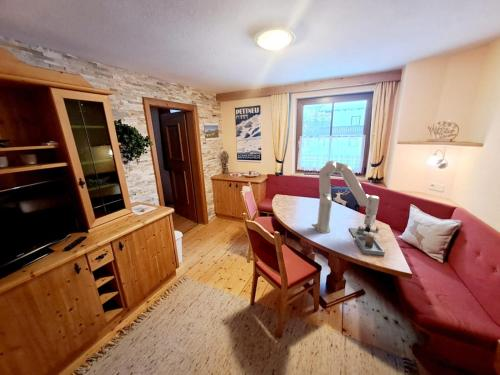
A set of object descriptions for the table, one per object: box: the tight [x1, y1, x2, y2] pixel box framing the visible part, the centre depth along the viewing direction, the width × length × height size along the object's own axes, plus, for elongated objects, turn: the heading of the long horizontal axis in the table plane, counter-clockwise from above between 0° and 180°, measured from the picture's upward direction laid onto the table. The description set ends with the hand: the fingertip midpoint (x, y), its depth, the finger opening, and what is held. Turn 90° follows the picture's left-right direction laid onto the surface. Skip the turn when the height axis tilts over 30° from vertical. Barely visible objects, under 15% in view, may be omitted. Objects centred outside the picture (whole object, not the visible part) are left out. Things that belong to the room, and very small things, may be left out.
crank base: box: [348, 227, 371, 238], centre depth 161 cm, size 14×14×3 cm
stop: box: [365, 234, 375, 248], centre depth 141 cm, size 5×5×8 cm
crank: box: [357, 225, 380, 234], centre depth 157 cm, size 14×5×5 cm, turn 64°
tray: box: [355, 236, 386, 256], centre depth 142 cm, size 13×19×3 cm
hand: (367, 231), depth 156 cm, fingers closed
